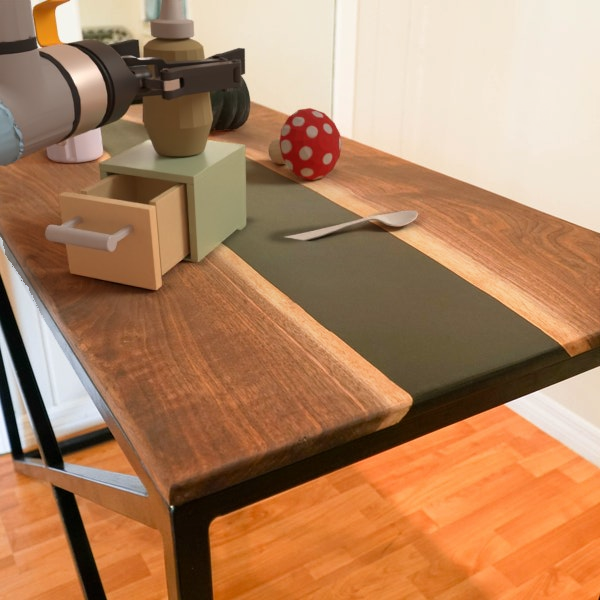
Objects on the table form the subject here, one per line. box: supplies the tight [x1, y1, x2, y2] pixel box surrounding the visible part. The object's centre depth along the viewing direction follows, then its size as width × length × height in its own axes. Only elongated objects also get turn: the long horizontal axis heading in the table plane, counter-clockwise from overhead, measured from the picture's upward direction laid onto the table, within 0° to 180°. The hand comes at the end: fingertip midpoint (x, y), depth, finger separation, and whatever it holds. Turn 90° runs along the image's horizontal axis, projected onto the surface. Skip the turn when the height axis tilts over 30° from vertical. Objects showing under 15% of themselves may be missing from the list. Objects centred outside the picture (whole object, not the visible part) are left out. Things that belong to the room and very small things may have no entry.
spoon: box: [285, 209, 419, 242], centre depth 85 cm, size 4×21×2 cm, turn 114°
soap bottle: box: [32, 0, 104, 164], centre depth 106 cm, size 9×9×25 cm
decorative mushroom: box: [268, 107, 342, 181], centre depth 105 cm, size 11×11×15 cm
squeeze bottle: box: [142, 0, 213, 156], centre depth 74 cm, size 8×8×18 cm
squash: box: [205, 52, 251, 134], centre depth 126 cm, size 14×15×15 cm
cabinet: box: [98, 139, 247, 263], centre depth 80 cm, size 14×12×11 cm
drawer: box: [44, 173, 191, 291], centre depth 70 cm, size 17×11×9 cm, turn 161°
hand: (188, 56), depth 76 cm, fingers open, 13 cm apart
